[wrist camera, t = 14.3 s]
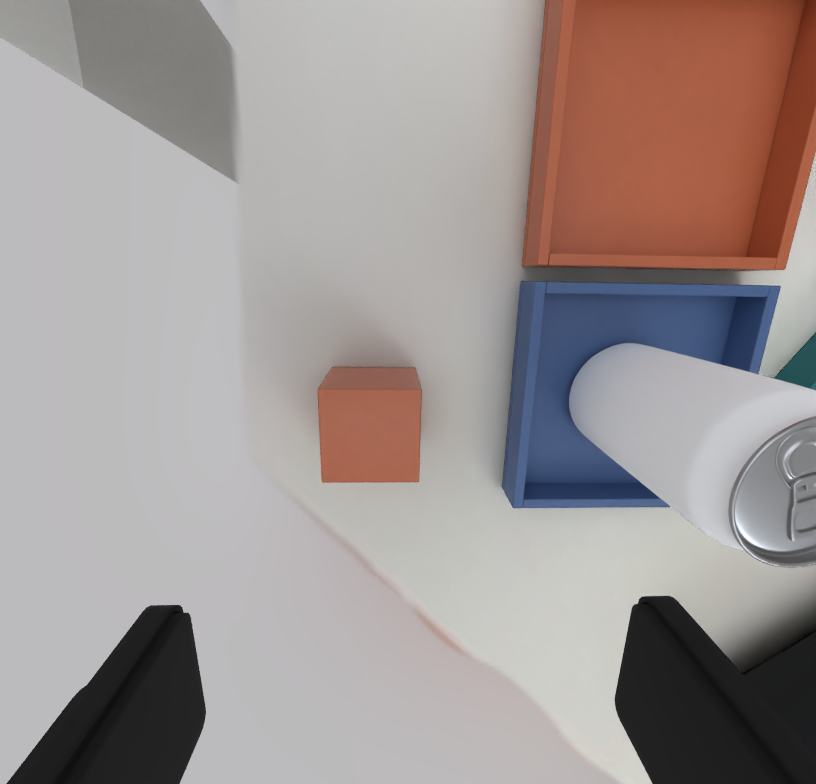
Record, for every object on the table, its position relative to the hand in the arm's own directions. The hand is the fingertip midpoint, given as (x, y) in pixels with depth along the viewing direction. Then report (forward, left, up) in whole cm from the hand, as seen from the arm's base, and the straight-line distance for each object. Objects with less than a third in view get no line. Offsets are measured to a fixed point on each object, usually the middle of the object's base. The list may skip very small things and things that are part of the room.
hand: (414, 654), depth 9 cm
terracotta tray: (+13, +15, -17) cm, 26 cm away
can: (+13, +1, -17) cm, 21 cm away
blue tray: (+13, +1, -17) cm, 22 cm away
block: (-2, 0, -17) cm, 17 cm away
